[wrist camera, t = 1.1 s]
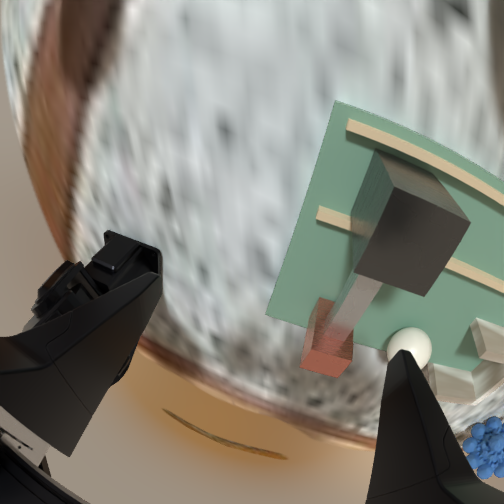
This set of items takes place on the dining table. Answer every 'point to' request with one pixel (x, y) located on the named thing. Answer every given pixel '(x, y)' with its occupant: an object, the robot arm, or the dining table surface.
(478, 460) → the grapes
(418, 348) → the ball
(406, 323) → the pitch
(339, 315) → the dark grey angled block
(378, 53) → the dining table surface
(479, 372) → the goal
